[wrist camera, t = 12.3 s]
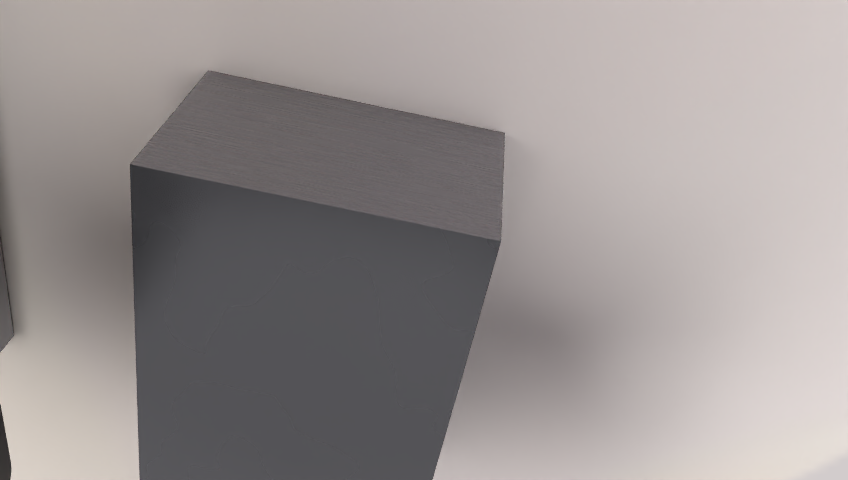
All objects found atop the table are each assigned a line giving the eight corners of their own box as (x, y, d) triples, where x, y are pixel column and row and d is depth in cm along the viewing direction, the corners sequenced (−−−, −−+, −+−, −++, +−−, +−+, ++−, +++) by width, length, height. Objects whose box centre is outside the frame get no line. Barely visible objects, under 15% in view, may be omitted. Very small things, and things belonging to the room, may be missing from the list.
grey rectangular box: (213, 64, 14) (130, 164, 11) (505, 126, 14) (501, 241, 11) (202, 397, 18) (141, 531, 15) (421, 441, 18) (402, 583, 15)
